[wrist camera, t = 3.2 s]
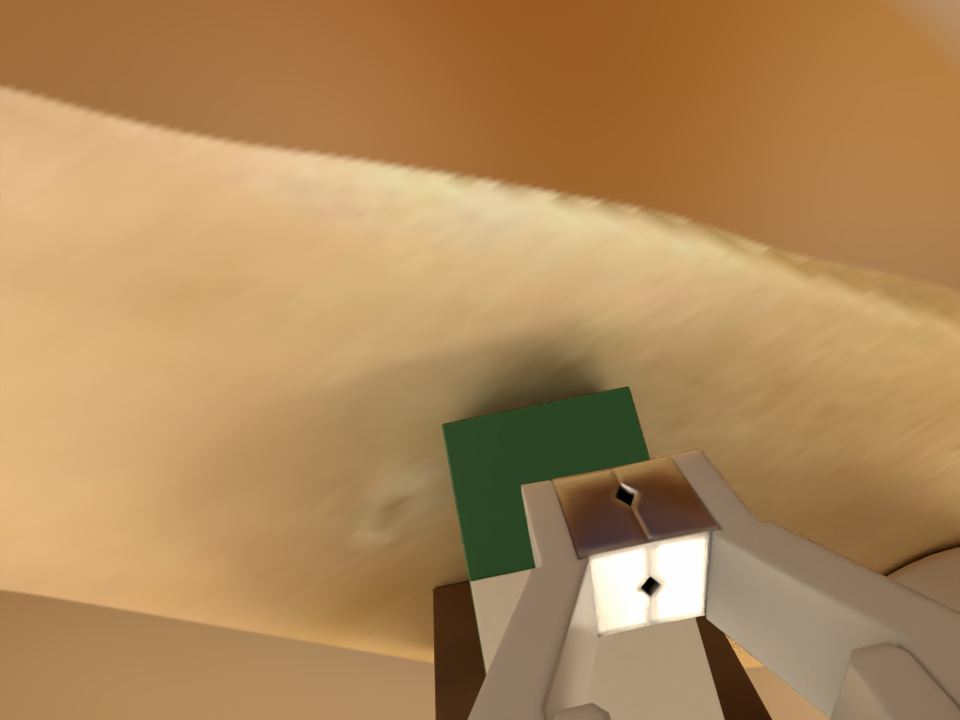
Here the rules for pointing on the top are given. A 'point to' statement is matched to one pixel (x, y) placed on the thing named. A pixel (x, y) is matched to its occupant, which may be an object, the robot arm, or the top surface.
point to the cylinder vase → (934, 577)
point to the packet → (509, 557)
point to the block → (466, 673)
